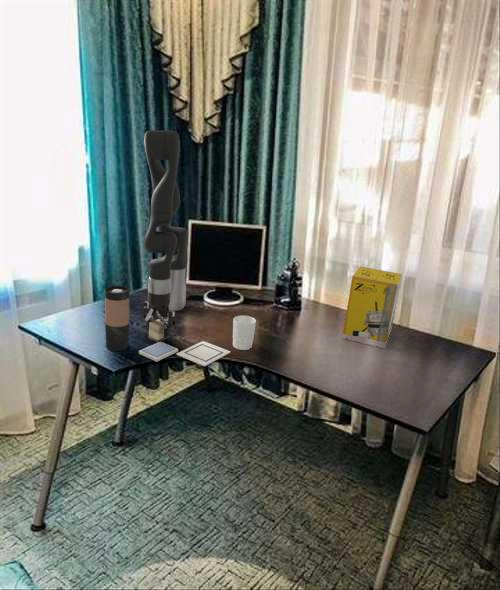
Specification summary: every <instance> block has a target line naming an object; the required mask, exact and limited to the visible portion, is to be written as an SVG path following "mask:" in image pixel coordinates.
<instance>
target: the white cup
mask: <svg viewBox="0 0 500 590" xmlns="http://www.w3.org/2000/svg"><path fill="white" fill-rule="evenodd" d="M232 320H233V321H232V346H233V348H235V349H237V350H240V351H249V350H250V348H251V349H252V347H253V342H254V339H255V338H254V337H255V333H256V324H257V320H256V318H254V317H252V316H250V315H237V316H234V317H233V319H232Z"/></svg>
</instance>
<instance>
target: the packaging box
mask: <svg viewBox="0 0 500 590" xmlns="http://www.w3.org/2000/svg"><path fill="white" fill-rule="evenodd" d="M403 276H404V275H403V273H397V272H391V271H386V270H381V269H376V268H370V267H365V266H359V267H358V268H357V270H356V271H355V272H354V274H353V275H352V277H351V282H350V283H351V284H350V289H349V296H348V300H347V307H346V311H345V312H346V313H345V320H344V325H343V331H342V335H343V334H348V335H353V336H359V337H364V338H368V339H372V340H376V341H381V342H386V343H387V340H388V337H389V334H390V332H392V329H393V323H394V318H395V314H396V310H397V309H396V308H397V304H398V299H399V294H400V290H401V284H402V278H403ZM390 335H391V334H390ZM389 338H390V337H389ZM388 341H389V340H388ZM387 344H388V343H387Z"/></svg>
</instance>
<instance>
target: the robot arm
mask: <svg viewBox="0 0 500 590" xmlns="http://www.w3.org/2000/svg"><path fill="white" fill-rule="evenodd" d="M143 140H144V141H143V142H144V144H143V145H144V150H145V157H146V161H147V164H148V169H149V172H150V179H151V185H152V186H151V187H152V196H151V199H150V201H151V203H150V218H149V219H150V220H149V225H148V228H147V231H146V234H145V237H144V242H143V246H144V249H145V251H147V252H148V253H152V254H164V256H163V257H162V256H161V257H159V258H154V259H153V258H152V259H151V260H150V262H149V267H148V268H149V269H148V271H149V273H148V281H147V282H148V283H147V300H145V301H143V302H142V303H141V318H142V319H144V320H145V323H146V324H145V328H146V332H148V333H149V323H150V322H152V321H153V319H155V318H156V320H158V319H159V320H160V321H161V323H163V325H164V338H170V337H171V329H173V328H175V327H176V326H177V311H182V310H183V309H184V308H185V307H186V302H187V301H186V299H187V297H186V296H187V284H186V268H187V267H186V266H187V256H188V255H187V254H188V245H189V244H188V243H189V232H188V229H187V228H185V227H179V226H170V224H172V223H173V217H174V215H175V214H176V212H177V211H178V210H179V207H180V206H181V193H180V188H179V185H178V183H177V181H176V180H177V174H178V167H179V166H178V165H179V161H180V153H181V140H180V135H179V133H178V132H177V131H174V130H161V129H152V130H151V129H150V130H147V131H146V132H145V134H144V139H143ZM161 161H168V163H167V167H166V169H165V167H164V166H163V165H162V162H161ZM157 228H158V231H157ZM175 252H177V254H175ZM166 322H167V324H166Z"/></svg>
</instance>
